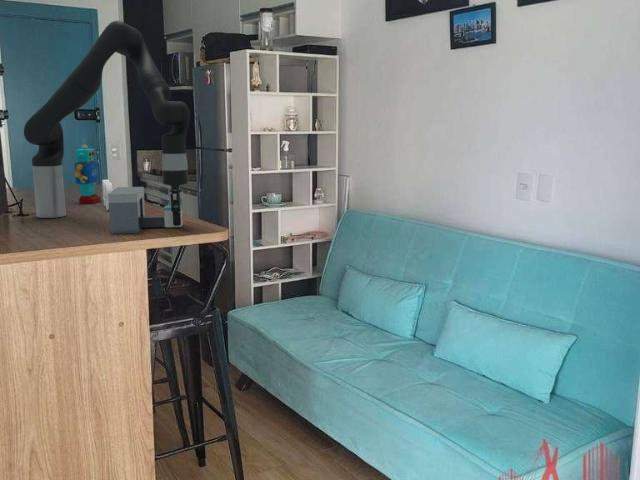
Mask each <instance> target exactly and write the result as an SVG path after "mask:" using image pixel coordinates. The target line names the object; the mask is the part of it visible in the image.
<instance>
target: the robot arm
mask: <svg viewBox="0 0 640 480" xmlns="http://www.w3.org/2000/svg"><path fill="white" fill-rule="evenodd" d="M115 53H117V54H119V55H121V56H125V57H126V58H127V59H129V61H131V63H132V64H133V65H134V66H135V68H136V70H137V79H138V82H139V85H140V87H141V88H142V90H143V92H144V93H145V95H146V96H147V98H148V100H149V103H150V107H151V110H152V114H153V117H154V119H155V121H156V122H158V123H159V124H160V125H162V126H172V127H171V131H170V132H168V133H164V134H163V135H162V136H161V153H162V154H161V170H162V184H163V185H165V186H171V188H170V189H169V190H168V196H169V206H171V211H172V213H173V225H174V226H179V225H181V218H180V212H181V210H180V206H181V205H182V206H183V202H184V199H183V195H184V190H183V189H182V188H181V186H182V185H183V186H184V185H187V184H188V183H189V173H188V172H189V171H188V158H187V157H188V156H187V147H186V146H187V145H186V139H187V134H188V129H189V124H190V121H191V112H190V109H189V106H188V104H186V103H185V102H183V101H179V100H178V101H177V100H176V101H175V100H170V99H171V97H172V90H171V88H170V86H169V85H168V83H167V82H166V80H165V78H164V77H163V76H162V74H161V72H160V71H159V69H158V68H157V66H156V63H155V62H154V60H153V58H152V55H151V53H150V52H149V48H148V46H147V44H146V41H145V39H144V37H143V35H142V34H141V31H140V30H138V29H136V28H135V27H133V26H131V25H130V24H127V23H125V22H123V21H121V20H114V21H111V22H110V23H108V24H107V26H106V27H105V28H104V30H103V31H102V32H101V34H100V35H99V36H98V38H97V40H96V41H95V43H94V44H93V46H92V47H91V48H90V50H89V51H88V53H87V54H86V55H85V56H84V58H83V59H81V61H80V63H79V64H78V65H77V66H76V68H74V70H72V72H71V73H69V75H68V76H67V77H66V79H65V80H64V81H63V82H62V84H61V85H60V86H59V88H58V89H56V91H55V92H54V93H53V94H52V96H51V97H50V98H49V99H48V100H47V101H46V103H44V105H43V106H41V107H40V109H38V110H37V111H36V112H35V113H34V114H33V115H32V116H31V117H30V118H28V120H27V121H26V123H25V125H24V127H23V136H24V138H25V140H26V141H27V142H28V143H29V144H31V145H35V146H38V150H37V153H36V154H35V155H33V157H32V158H31V166H32V176H33V189H34V199H35V211H36V212H35V213H36V217H37V218H40V219H42V218H44V219H48V218H49V219H50V218H53V219H54V218H60V217H65V216H67V214H66V213H67V211H66V197H65V185H64V174H63V173H64V172H63V170H64V169H63V158H64V154H65V153H64V152H65V150H64V147H65V145H64V130H63V126H62V124H61V121H63V120H64V119H65V118H66V117H68V116H69V115H71V114H72V113H74V112H76V111H78V110H79V109H80V108H81V107H83V106H85V104H87V103H88V102H89V101H90V100H91V99H92V98H93V96H94V95H95V94H96V93H97V92H98V90H99V89H100V87H101V84H102V78H103V71H104V67H105V65H106V64H107V62H108V61H109V60H110V58H111V57H112V56H113V55H114V54H115ZM174 206H178V208H174Z"/></svg>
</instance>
